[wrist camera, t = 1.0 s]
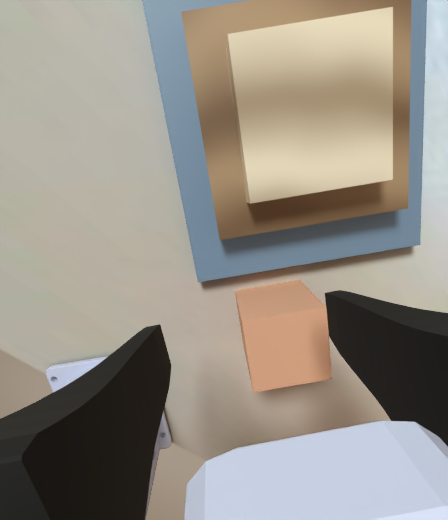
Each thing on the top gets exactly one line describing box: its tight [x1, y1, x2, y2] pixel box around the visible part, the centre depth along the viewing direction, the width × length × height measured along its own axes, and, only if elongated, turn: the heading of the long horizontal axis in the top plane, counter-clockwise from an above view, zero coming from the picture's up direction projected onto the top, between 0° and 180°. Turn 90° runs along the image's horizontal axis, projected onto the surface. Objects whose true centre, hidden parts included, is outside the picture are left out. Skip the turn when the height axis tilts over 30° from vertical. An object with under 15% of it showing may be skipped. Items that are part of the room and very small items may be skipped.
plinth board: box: [142, 0, 427, 282], centre depth 16 cm, size 18×16×4 cm
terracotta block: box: [235, 280, 332, 392], centre depth 18 cm, size 5×5×5 cm
